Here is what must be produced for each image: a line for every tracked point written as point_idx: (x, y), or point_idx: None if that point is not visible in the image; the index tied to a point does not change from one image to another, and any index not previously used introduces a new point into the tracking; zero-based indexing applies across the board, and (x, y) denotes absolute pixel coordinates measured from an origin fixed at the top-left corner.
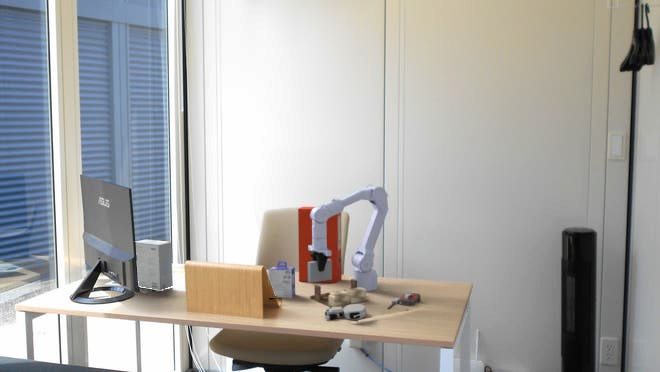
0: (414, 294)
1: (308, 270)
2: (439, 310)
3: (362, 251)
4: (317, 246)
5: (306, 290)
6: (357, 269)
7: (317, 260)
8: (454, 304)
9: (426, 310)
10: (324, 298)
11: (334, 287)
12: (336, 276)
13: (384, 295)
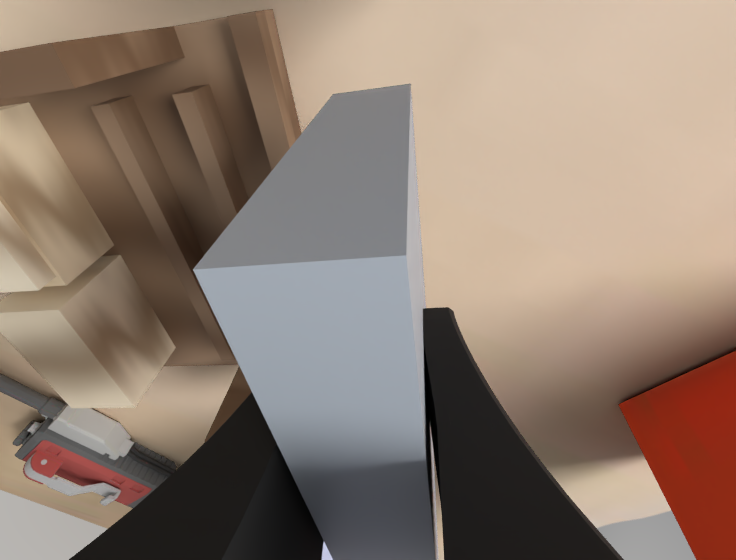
0: (123, 499)
1: (380, 144)
2: (12, 467)
3: None
4: None
5: (650, 149)
6: (324, 551)
7: (227, 502)
8: (90, 513)
9: (7, 445)
10: (98, 112)
11: (550, 355)
12: (645, 443)
13: None
